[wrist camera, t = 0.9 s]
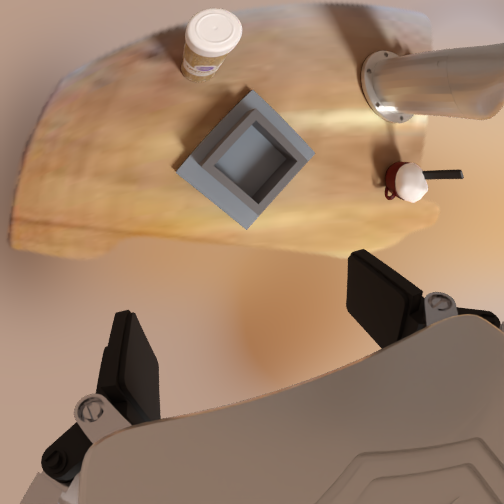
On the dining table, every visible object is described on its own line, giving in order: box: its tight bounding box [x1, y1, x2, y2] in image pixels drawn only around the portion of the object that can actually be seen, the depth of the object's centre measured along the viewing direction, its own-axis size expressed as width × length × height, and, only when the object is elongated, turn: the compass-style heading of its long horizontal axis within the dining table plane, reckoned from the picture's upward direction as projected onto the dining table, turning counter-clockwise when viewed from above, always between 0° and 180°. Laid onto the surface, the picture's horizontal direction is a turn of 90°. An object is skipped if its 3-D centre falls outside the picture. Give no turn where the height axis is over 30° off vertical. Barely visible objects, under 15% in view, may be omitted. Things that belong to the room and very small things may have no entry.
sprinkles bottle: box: [181, 8, 242, 82], centre depth 22 cm, size 5×5×13 cm
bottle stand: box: [176, 90, 315, 230], centre depth 33 cm, size 14×12×4 cm
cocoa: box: [385, 162, 464, 203], centre depth 37 cm, size 10×6×12 cm, turn 111°
